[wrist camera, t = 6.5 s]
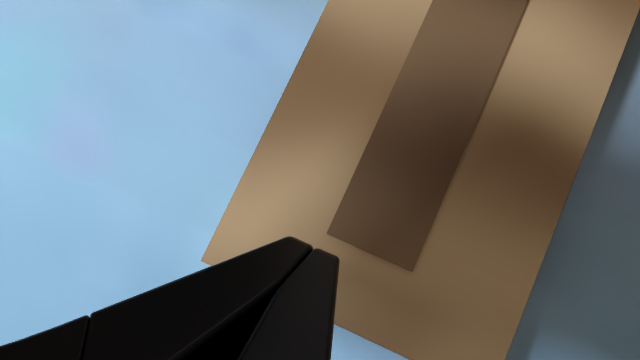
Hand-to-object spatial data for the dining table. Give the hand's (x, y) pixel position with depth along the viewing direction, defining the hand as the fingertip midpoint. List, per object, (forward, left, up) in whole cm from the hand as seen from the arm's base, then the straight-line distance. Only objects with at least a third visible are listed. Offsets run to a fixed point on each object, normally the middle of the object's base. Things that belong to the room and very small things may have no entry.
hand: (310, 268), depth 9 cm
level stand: (+10, -5, -7) cm, 13 cm away
